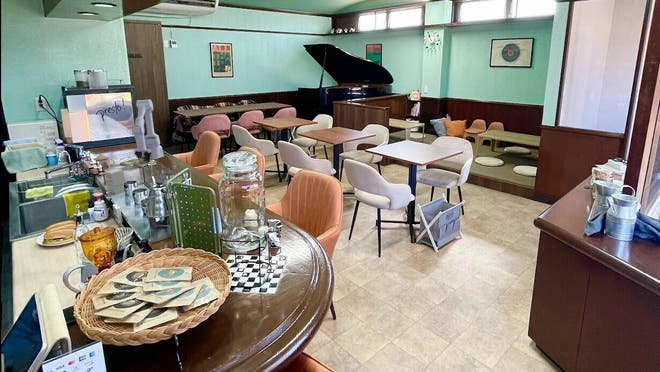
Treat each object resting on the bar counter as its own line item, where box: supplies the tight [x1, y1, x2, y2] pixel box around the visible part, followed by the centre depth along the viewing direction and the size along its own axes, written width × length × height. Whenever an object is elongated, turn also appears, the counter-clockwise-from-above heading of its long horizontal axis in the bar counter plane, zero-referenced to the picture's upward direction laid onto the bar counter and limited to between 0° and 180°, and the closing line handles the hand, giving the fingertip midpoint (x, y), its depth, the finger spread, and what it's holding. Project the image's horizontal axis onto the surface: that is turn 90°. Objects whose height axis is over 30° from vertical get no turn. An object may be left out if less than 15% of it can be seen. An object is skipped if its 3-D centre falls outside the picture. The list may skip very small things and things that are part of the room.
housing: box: [136, 155, 152, 164], centre depth 289 cm, size 7×4×5 cm, turn 154°
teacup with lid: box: [93, 153, 116, 170], centre depth 279 cm, size 12×9×12 cm
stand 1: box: [119, 158, 139, 167], centre depth 296 cm, size 12×10×2 cm
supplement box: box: [104, 168, 127, 195], centre depth 230 cm, size 7×7×13 cm
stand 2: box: [132, 159, 158, 168], centre depth 290 cm, size 12×10×2 cm
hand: (144, 161), depth 289 cm, fingers open, 7 cm apart
